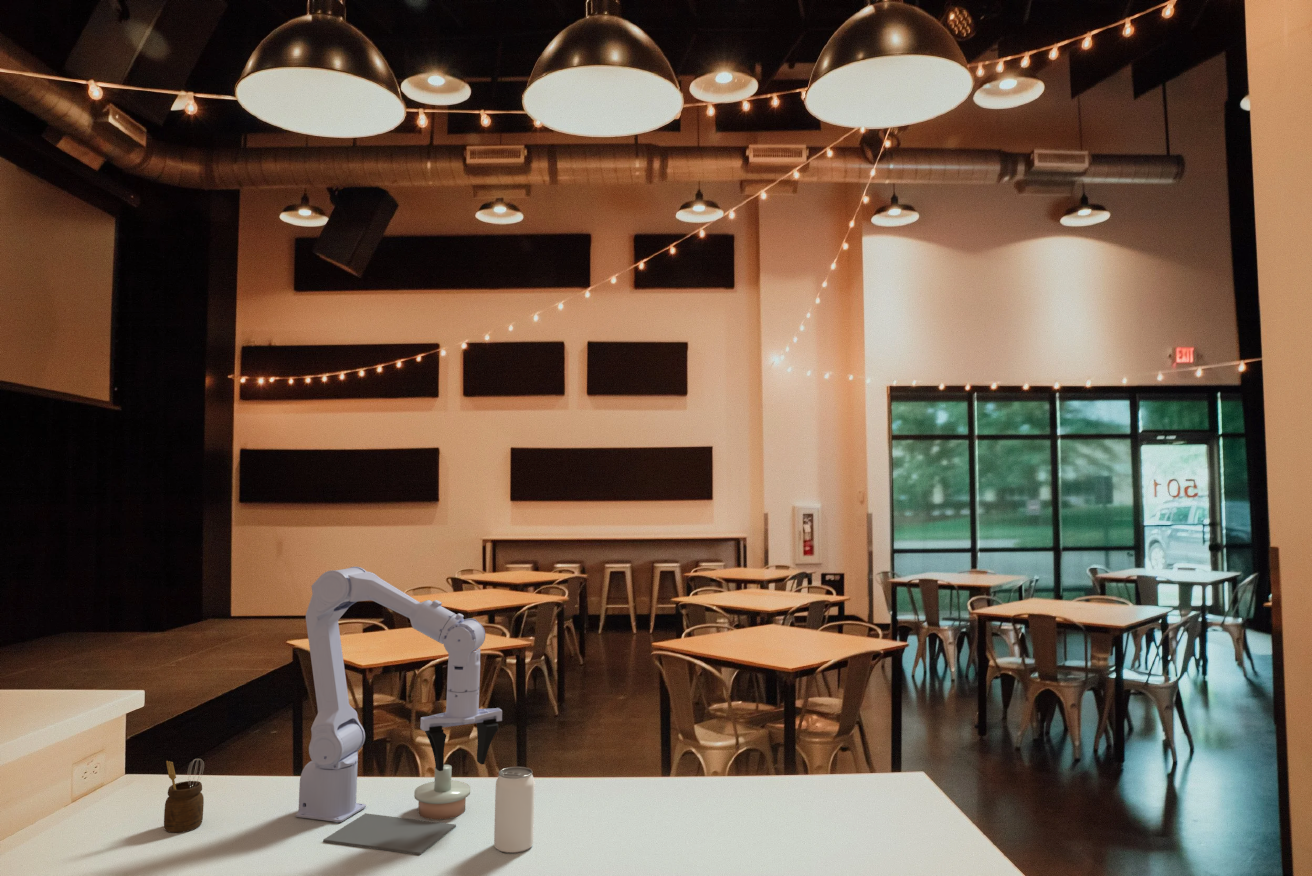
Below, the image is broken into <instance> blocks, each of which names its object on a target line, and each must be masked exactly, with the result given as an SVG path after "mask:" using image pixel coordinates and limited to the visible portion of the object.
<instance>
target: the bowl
mask: <svg viewBox="0 0 1312 876" xmlns="http://www.w3.org/2000/svg"><path fill="white" fill-rule="evenodd" d="M466 798H467V797H466ZM466 798H464V799H462V800H459V801H456V802H452V803H445V804H428V803H423V802H420V801H418V810H417V811H418V813H417V814H418V815H419V817H421V818H423V819H426V820H435V821H436V820H437V821H438V820H439V821H440V820H441V821H442V820H447V819H452V818H456V817H459V816H461V815H462V814H464V813H465V811H466Z"/></svg>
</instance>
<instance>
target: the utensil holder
mask: <svg viewBox="0 0 1312 876" xmlns="http://www.w3.org/2000/svg"><path fill="white" fill-rule="evenodd" d="M195 761H196V763H195ZM199 761H200V762H201V767H202V768H200V771H199V772H201V773H202V774H201V773H198V774H199V775H198V778H197V779H200V778H201V777H200V776H202V775H203V772H204V771H203V770H204V768H205V766H204V764H205V763H204V761H202V759H201V758H195V759H193V760H192V762H189V765H188V768H189V769H187V772H188V775H189V778H191V776H192V775H191V774H192V772H191V771H192V768H193V767H191V766H193V765H194V763H195V765H196V766H195V769H194V770H195V771H194V772H193V774H194V776H193V779H192V780H191V779H189V780H187V781H186V780H185V781H180V782H175V781H176V780H175V779H177V775H176V771H175V766H174V762H173V761H168V760H166V761H165V762H166V768H167V769H166V770H167V772H168V773H167V774H168V778H169V779H170V780H171V783H172V784H171V785H170V786H169V787H168V789H167V796H168V797H167V798H166V800H165V803H164V810H163V811H164V813H163V815H164V816H163V828H164V831H165V832H166V833H172V834H179V833H186V832H189V831H192V830H193V831H194V830H195V829H197V828H199V827H200V826H201V825H202V823H203V820H204V819H203V818H204V805H205V804H204V802H205V801H204V794H203V793H202V791H203V785H202V782H201V781H200V780H195V779H196V778H195V777H196V776H197V774H196V772H198V769H197V768H198V766H199V764H198V762H199Z"/></svg>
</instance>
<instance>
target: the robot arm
mask: <svg viewBox="0 0 1312 876" xmlns="http://www.w3.org/2000/svg"><path fill="white" fill-rule="evenodd" d="M311 591H312V594H311V597H310V600H309V603H308V606H307V609H306V613H305V621H306V622H305V623H306V631H307V632H306V633H307V639H308V644H309V645H308V647H309V654H310V660H311V667H312V669H311V670H312V675H313V676H312V677H313V684H314V685H313V686H314V691H315V699H316V707H317V714H316V716H315V718H314V721H313V723H312V725H311V728H310V731H311V737H310V738H311V739H310V742H309V744H308V755H309V757H310V759H311V760H310V761H308V763H307V764H305V766H304V767H303V769H302V771H301V774H300V777H299V787H298V788H299V793H298V812H296V813H295V817H296V818H304V819H311V820H319V821H327V822H335V823H342V822H343V821H345V820H348V818H350V817H352V816H353V815H355V814H357V813H359V812H360V811H362V810H363V809H366V807H367V804H365V803H359V802H357V792H358V789H357V788H358V787H357V786H358V765H359V764H358V762H359V758H358V757H359V750H360V749H361V748H362V747H363V745H364V744H365V741H366V732H365V729H364V727H363V725H362V724H361V722H360V721H359V718H358V717H359V715H358V712H357V711H356V709H355V708H353V707H352V705H350V700H349V699H350V698H349V692H348V684H347V677H346V669H345V662H344V655H343V649H342V648H343V647H342V640H341V633H340V625H339V620H340V619H341V617H342V616H343V615H344V614H345V613H346V612H347V610H348V609H349V608H350V607H351V606H352V605H354V604H356V603H357V602H364V601H371V602H372V601H373V602H374V603H377V604H379V605H381V606H383V607H385V608H387V609H389V610H391V611H394V612H395V613H397V614H399V615H401V616H403V617H406V618H408V619H409V620H410V621H409V622H410V624H411V627H412V629H414V630H416V631H418V633H422V635H425V636H427V637H429V638H430V639H432V640H434V641H435V642H437V643H439V644H441V645H443V647H444V649H445V651H446V652H447V653H448V655H447V656H448V660H447V661H448V662H447V677H446V679H447V682H446V700H445V701H446V702H445V703H446V704H445V705H446V706H445V712H441V713H436V714H432V715H429V716H422V717H420V727H419V728H420V730H421V731H423V732H425V735H426V737H427V739H428V741H429V743H430V746H431V749H432V754H433V758H434V763H435V764H434V765H435V767H436V769H437V770H438V771H443V767H444V765H445V762H444V761H445V759H444V757H445V756H444V755H445V744H446V740H447V734H446V733H445V732H444V731H445V730H444V729H443V728H449V727H457V726H464V725H472V724H476V733H477V734H476V735H477V748H476V762H477V763H478V764H480V765H485V763H486V759H487V755H488V751H489V749H490V746H491V745H492V741H493V739H494V737H495V736H496V733H497V732H498V730H499V723H498V722H502V721H503V710H502V709H501V708H500V707H496V708H494V707H492V708H479V707H480V680H481V646H482V645H483V644H484V643H485V639H486V630H485V627H484V626H483V625H482V623H480V622H479V621H478V620H477V619H476V618H465V619H464V617H465V616H464V615H463V614H462V613H457V614H456V613H455V612H453V611H451V610H449V609H447V608H446V607H443V606H442V604H443V602H441V601H440V600H437V599H435V600H433V601H432V600H430V599H428V600H424V601H422V602H421V601H419V600H418V599H415V598H413V597H412V596H410V595H408V594H407V593H405V592H404V591H402V590H400V589H399V588H397V587H396V586H394V585H393V584H391V583H389V582H387V581H385V580H384V579H382V578H381V577H379V576H378V575H377V574H376V573H374V572H372V571H367V570H366V569H364V567H360V566H350V567H347V568H343V569H335V570H331V569H330V570H327V571H325V572H324V573H322V574H321V575H320V576H319V577H318V578H317V579H316V580H315V582H313V583H312V585H311Z"/></svg>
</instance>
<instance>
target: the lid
mask: <svg viewBox="0 0 1312 876" xmlns="http://www.w3.org/2000/svg"><path fill="white" fill-rule="evenodd" d="M452 769H453V767H452V765H450V764H444V767H443V771H438V770H437V769H436V766H435V767H434V781H430V782H429V781H428V782H427V783H426V782H425V783H423V784H421V785H419V786H417V787H416V788H415V789H414V793H413V794H414V795H413V796H414V799H415V800H416V801H418V802H419V801H420V802H423V803H428V804H445V803H452V802H456V801H459V800H462V799H464V798H468V797H469V796H470V794H471V786H470V784H469V783H466V782H464V781H459V780H452Z"/></svg>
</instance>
